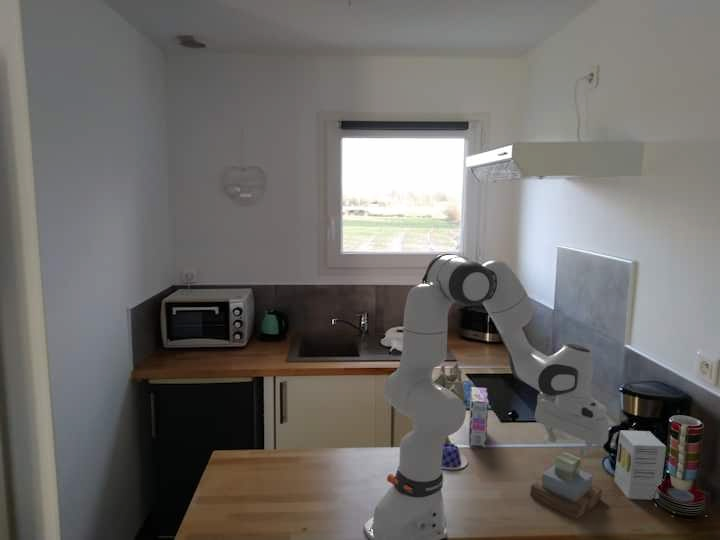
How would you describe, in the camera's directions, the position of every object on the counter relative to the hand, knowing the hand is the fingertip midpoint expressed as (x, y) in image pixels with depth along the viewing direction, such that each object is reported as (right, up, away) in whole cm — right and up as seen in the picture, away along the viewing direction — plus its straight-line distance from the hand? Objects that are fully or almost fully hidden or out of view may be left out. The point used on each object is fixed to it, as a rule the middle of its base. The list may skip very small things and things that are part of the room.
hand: (567, 447), depth 146 cm
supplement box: (+23, -15, +7) cm, 28 cm away
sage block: (0, -8, +1) cm, 8 cm away
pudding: (-30, -12, +22) cm, 39 cm away
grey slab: (+1, -12, +2) cm, 12 cm away
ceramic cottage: (-22, -4, +72) cm, 76 cm away
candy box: (-17, -10, +37) cm, 42 cm away
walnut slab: (0, -16, +3) cm, 16 cm away
